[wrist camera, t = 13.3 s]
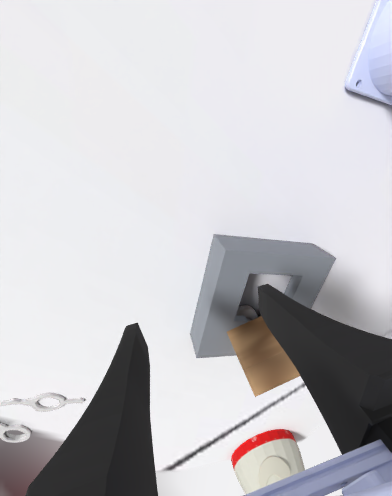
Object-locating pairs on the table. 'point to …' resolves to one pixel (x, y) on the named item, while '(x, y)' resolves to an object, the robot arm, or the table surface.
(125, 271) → the table surface
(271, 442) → the kitchen timer
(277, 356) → the peg
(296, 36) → the table surface
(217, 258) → the square hole plate
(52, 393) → the scissors
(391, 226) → the table surface
